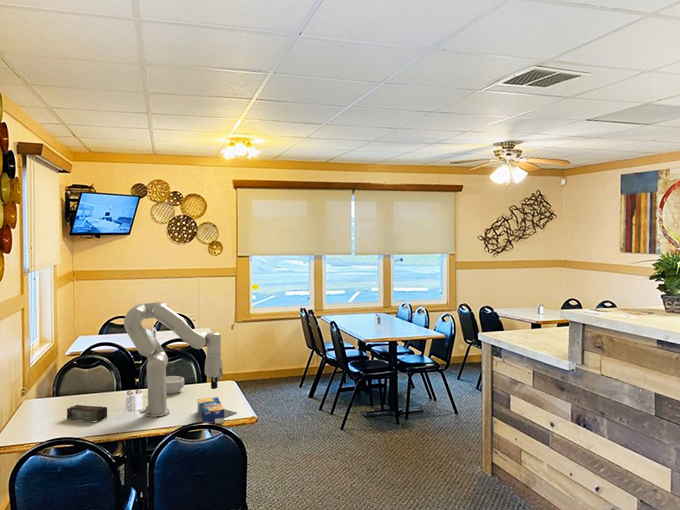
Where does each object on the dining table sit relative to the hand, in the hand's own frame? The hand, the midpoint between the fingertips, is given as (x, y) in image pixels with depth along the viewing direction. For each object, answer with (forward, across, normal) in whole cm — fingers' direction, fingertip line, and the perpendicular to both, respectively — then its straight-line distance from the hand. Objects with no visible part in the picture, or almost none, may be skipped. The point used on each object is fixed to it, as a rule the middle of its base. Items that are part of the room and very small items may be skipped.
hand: (214, 388), depth 295 cm
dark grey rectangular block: (+12, -43, -49) cm, 66 cm away
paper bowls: (+12, -48, +8) cm, 50 cm away
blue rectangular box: (+9, -3, -2) cm, 10 cm away
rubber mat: (+12, +8, -2) cm, 15 cm away
